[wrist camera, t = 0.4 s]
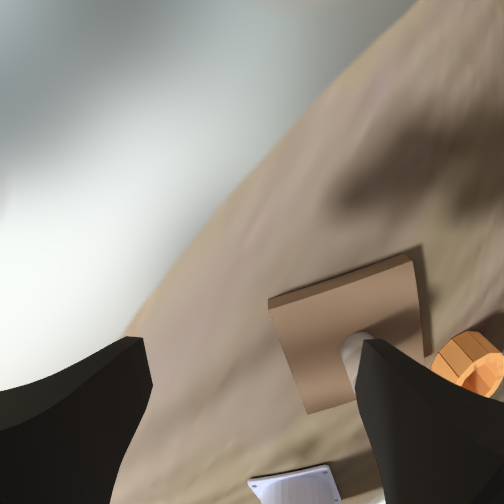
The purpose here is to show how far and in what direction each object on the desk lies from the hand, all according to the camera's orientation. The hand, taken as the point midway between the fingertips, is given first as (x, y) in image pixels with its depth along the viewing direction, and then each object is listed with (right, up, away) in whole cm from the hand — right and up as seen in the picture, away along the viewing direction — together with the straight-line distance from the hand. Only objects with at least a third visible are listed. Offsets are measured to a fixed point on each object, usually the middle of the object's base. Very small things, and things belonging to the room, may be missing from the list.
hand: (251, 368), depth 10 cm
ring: (+17, -5, +11) cm, 21 cm away
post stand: (+7, -2, +10) cm, 12 cm away
